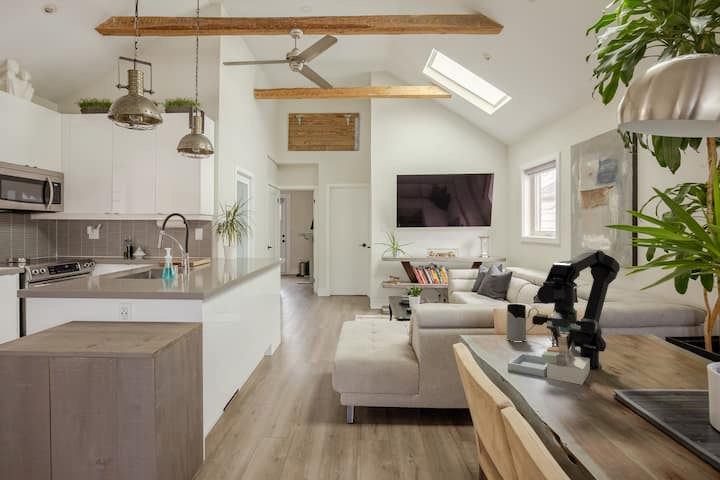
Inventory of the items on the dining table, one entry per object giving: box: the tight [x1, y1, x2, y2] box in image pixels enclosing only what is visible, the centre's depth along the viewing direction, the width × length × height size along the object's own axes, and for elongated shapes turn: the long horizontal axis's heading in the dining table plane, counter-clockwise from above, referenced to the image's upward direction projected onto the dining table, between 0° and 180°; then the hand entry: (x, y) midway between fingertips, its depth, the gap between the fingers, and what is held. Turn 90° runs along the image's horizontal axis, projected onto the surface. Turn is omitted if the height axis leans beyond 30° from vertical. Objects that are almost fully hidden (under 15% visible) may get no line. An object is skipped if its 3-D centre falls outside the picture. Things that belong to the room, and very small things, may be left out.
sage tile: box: [541, 351, 558, 364], centre depth 137 cm, size 4×4×2 cm
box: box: [507, 352, 548, 378], centre depth 145 cm, size 15×12×2 cm
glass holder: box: [505, 303, 540, 341], centre depth 183 cm, size 9×14×15 cm, turn 93°
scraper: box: [556, 334, 573, 366], centre depth 138 cm, size 14×2×8 cm, turn 145°
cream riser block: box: [546, 355, 591, 386], centre depth 138 cm, size 15×10×4 cm, turn 144°
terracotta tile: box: [546, 346, 559, 353], centre depth 143 cm, size 4×4×2 cm
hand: (563, 348), depth 139 cm, fingers closed on scraper, 3 cm apart
